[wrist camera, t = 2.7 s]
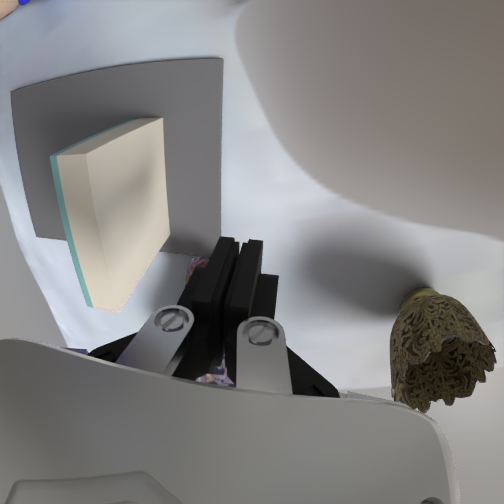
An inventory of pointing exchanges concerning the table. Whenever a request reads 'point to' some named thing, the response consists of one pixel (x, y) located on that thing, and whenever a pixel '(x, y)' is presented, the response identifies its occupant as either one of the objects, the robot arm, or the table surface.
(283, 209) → the table surface
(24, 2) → the figurine character
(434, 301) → the cup
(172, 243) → the mat
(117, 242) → the tile
